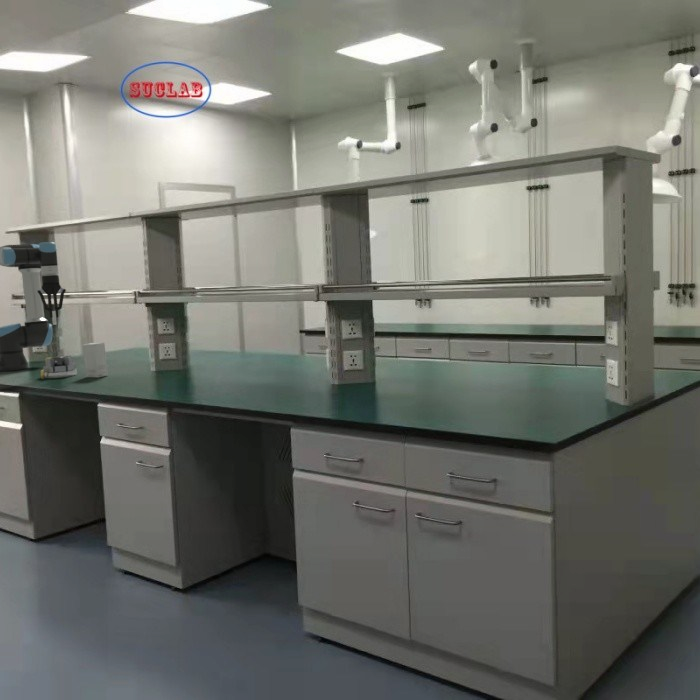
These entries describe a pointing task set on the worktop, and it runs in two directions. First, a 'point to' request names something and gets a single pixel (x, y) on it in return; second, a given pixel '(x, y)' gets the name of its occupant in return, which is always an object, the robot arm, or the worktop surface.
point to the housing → (60, 362)
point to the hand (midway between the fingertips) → (54, 324)
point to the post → (42, 374)
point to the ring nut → (52, 368)
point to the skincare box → (95, 360)
